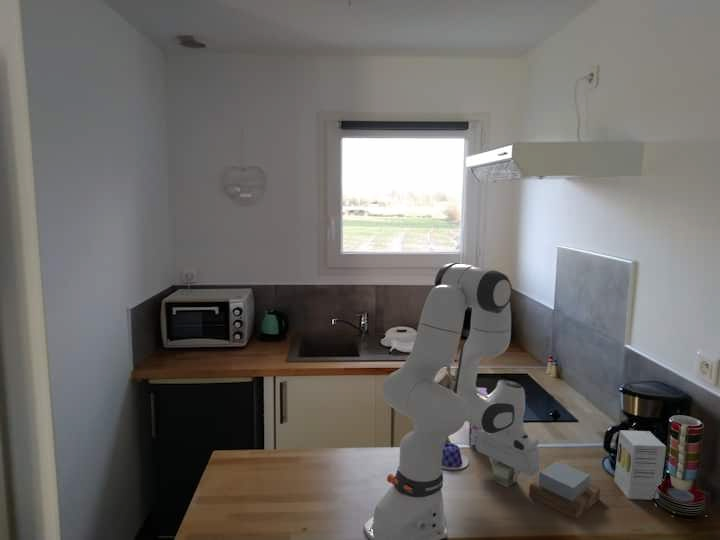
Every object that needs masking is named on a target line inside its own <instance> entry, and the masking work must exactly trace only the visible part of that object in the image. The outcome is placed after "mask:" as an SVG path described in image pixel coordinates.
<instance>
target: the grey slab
mask: <svg viewBox="0 0 720 540" xmlns="http://www.w3.org/2000/svg"><path fill="white" fill-rule="evenodd" d="M538 479H539V486H541V487H543V488H545V489H547V490H549V491H551V492H553V493H556V494H558V495H560V496H562V497H564V498H566V499H568V500H570V501H574V500H575V499H576V498H577V497H578V496H580V495H581V494H582V493H583V492H585V491H586V490H587V489H588V488H589V484H591V482H590V481H591V474H589V473H586V472H584V471H582V470H579V469H577V468H574V467H573V466H570V465H567V464H565V463H563V462H561V461H558V460H556V461H555V462H553V463H551V465H548V467H546V468H544V469H543V470H542V471H540V472H539V478H538Z"/></svg>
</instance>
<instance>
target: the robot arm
mask: <svg viewBox="0 0 720 540" xmlns="http://www.w3.org/2000/svg"><path fill="white" fill-rule="evenodd" d="M512 294H513V287H512V284H511V281H510V279H509V276H508V275H506V274H504V273H502V272H500V271H499V270H496V269H495V270H494V269H493V270H491V269H489V268H485V267H481V266H478V265H473V264H466V263H465V264H463V263H458V262H453V263H452V262H451V263H447V264H444V265H442V266H441V267H440V268H439V270H438V271H437V273H436V276H435V280H434V287H433V288H431V290H430V291H429V293H428V296H427V298H426V301H425V302H424V305H423V308H422V311H421V315H420V318H419V322H418V327H417V330H416V334H415V337H414V341H413V344H412V349H411V351H410V352H409V354H408V357H407V359H406V360H405V362H404V363H403V364H402V366H401V367H400V368H399V369H397V370H395V371H393V372H391V373H390V374H388V377H386V379H385V380H384V383H383V386H382V396H383V399H384V400H385V402H386V403H387V404H388V405H389V406H390V407H391V408H393V409H394V410H395V411H396V412H398V413H400V414H401V415H403V416H405V417H407V418H409V419H411V421H412V422H413V431H410V432H408V433H406V434H405V436H403V437H402V439H401V441H400V443H399V463H398V464H399V465H398V467H397V470H396V474H395V476H394V475H393V474H392V473H390V474H388V475H387V477H386V482H388V483H390V484H392V486H390V488H389V489H388V490H387V492H386V493H385V494H384V496H383V497H382V498H380V501H378V503H377V504H376V506H375V508H374V512H373V516H371V517H370V518H369V520H367V521H366V522H364V524H363V530H364V532H365V534H366V536H367V537H368V538H369V539H370V540H442V539H445V538H446V537H448V529H447V528H446V517H445V507H444V499H443V492H442V488H443V486H444V485H443V483H444V471H443V468H442V455H443V447H444V444H446V441H447V439H448V437H450V436H452V435H454V434H456V433H457V432H459V431H460V429H462V428H463V427H464V425H465V422H467V423H468V424H469V423H471V424H472V425H474V426H476V427H478V435H477V440H476V446H475V449H476V451H477V452H479V453H481V454H483V455H484V456H487V457H489V459H488V460H489V462H490V464H491V466H492V467H491V471H492V472H493V465H494V464H496V463H498V462H502V463H504V464H506V465H508V466H510V467H512V468H514V472H516V473H513V474H511V476H510V477H511V478H510V480H512V481H514V483H516V482H517V481H518V479H519V475H520V474H521V473H523V474H525V475H527V476H529V477H532V476H534V475H536V474H537V473H538V472H539V471H540V452H539V450H538V448H537V447H538V446H539V443H540V442H539V439H538V438H536V437H535V436H534V435H533V434H532V433H530V432H529V431H528V430H527V429H526V428H524V420H523V419H524V418H523V417H524V415H525V412H526V395H525V394H526V393H525V389H524V387H523V385H521V384H520V383H518V382H515V381H513V380H509V379H500V380H498V381H497V383H496V387H495V388H494V389H493V390H492V391H491V392H490V393H489V394H487V395H486V394H484V393H482V392H480V391H479V390H478V389H477V387H478V386H476V383H477V377H478V371H479V365H480V363H481V360H482V359H491V358H496V357H498V356H500V355H501V354H503V353H504V352H506V350H507V349H508V348H509V345H510V343H511V336H512V310H511V302H510V301H511V298H512ZM468 308H471V315H470V326H469V327H470V330H469V335H468V337H467V338H466V339H465V340H464V342H463V343H462V345H461V349H460V354H459V359H458V363H457V364H458V365H457V366H458V367H457V368H458V370H457V377H456V382H455V387H454V390H453V391H452V390H450V389H448V388H446V387H444V386H441V385H439V384H437V382H435V379H436V377H437V375H438V373H439V371H441V369H444V368H447V366H449V365H450V366H452V364H453V363H454V362H455V360H456V359H457V358H456V357H457V353H458V350H459V344H460V340H461V337H462V331H463V327H464V320H465V314H466V310H468Z"/></svg>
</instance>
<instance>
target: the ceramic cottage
mask: <svg viewBox="0 0 720 540" xmlns="http://www.w3.org/2000/svg"><path fill="white" fill-rule="evenodd" d="M451 366H452V365H449V366H447V367H445V368H446V370H445V371H444V373H443V374H442V375H441V376H440V377H439V378H438V379H437V382H436V383H437V384H439V385H441V386H444V387H446V388H448V389H450V390H452V391H453V390H454V387H455V382H456V377H457V370H458V367H457V366H455V370H454V371H455V372H454V373H455V374H452V373H451Z"/></svg>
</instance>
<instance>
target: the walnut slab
mask: <svg viewBox="0 0 720 540" xmlns="http://www.w3.org/2000/svg"><path fill="white" fill-rule="evenodd" d="M528 496H529V497H531V498H533V499H534V500H537V501H539V502H541V503H543V504H544V505H546V506H549V507H551V508H552V509H554V510H557V511H559V512H560V513H563V514H564V515H566V516H568V517H570V518H573V520H577V519H578V518H579V517H580V516H582V514H584V513H585V512H587V510H589V508H591V507H592V506H594V505H595V504H596V503H597V502H598V501H599V500H600V498H601V497H600V496H601V488H600V487H598V486H596V485H593V484H591V483H589V488H588V489H587V490H586V491H585V492H583V493H582V494H581V495H580V496H578V497H577V498H576V499H575V500H574V501H570V500H568V499H566V498H564V497H562V496H560V495H558V494H556V493H553V492H551V491H549V490H547V489H545V488H543V487H541V486H539V478H538V479H536V480H534V481H533V482H532V483H530V484H529V493H528Z"/></svg>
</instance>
